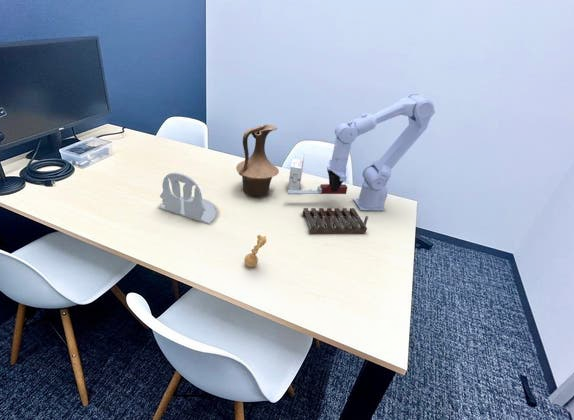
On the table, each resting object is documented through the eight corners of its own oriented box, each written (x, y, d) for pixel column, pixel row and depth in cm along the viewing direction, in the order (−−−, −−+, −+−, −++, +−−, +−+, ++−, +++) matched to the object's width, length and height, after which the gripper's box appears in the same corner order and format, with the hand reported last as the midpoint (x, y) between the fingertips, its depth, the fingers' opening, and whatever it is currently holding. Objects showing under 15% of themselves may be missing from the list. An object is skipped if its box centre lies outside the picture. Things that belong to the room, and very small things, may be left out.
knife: (343, 190, 132) (345, 184, 130) (346, 194, 129) (347, 187, 128) (287, 190, 130) (288, 183, 128) (288, 194, 127) (289, 187, 126)
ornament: (157, 208, 124) (153, 167, 115) (178, 193, 134) (175, 154, 125) (209, 224, 117) (208, 182, 108) (226, 207, 127) (227, 167, 118)
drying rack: (352, 214, 127) (357, 198, 124) (365, 234, 117) (370, 218, 113) (301, 214, 126) (304, 198, 122) (310, 234, 115) (313, 218, 111)
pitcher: (253, 206, 128) (258, 136, 113) (226, 189, 139) (227, 123, 124) (284, 193, 139) (292, 127, 124) (256, 178, 149) (261, 116, 134)
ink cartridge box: (288, 182, 147) (293, 151, 139) (300, 184, 146) (305, 153, 138) (287, 192, 140) (291, 159, 132) (298, 193, 139) (303, 161, 131)
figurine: (250, 255, 104) (252, 223, 97) (268, 261, 102) (271, 229, 96) (239, 271, 97) (240, 239, 91) (258, 278, 95) (261, 245, 89)
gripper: (324, 149, 128) (318, 180, 135) (335, 165, 115) (328, 198, 123) (342, 149, 128) (335, 180, 136) (355, 165, 116) (347, 198, 123)
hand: (333, 189), depth 129 cm, fingers closed on knife, 2 cm apart
